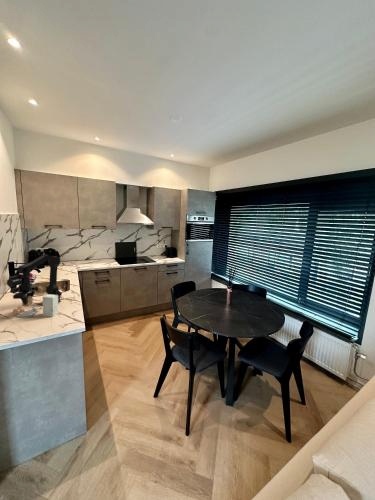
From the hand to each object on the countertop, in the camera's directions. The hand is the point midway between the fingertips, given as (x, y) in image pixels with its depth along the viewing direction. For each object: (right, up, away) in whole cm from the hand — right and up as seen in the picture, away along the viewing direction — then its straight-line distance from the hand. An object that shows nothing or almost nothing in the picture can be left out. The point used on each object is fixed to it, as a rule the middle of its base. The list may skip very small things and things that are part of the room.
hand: (27, 303), depth 152 cm
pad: (0, -9, +1) cm, 9 cm away
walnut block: (0, -1, 0) cm, 1 cm away
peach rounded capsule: (-9, -8, +6) cm, 13 cm away
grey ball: (0, -8, +8) cm, 11 cm away
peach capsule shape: (-8, -9, +1) cm, 12 cm away
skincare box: (+16, -9, +2) cm, 19 cm away
